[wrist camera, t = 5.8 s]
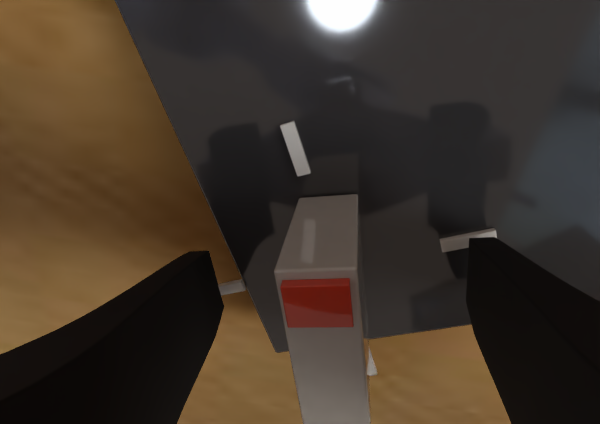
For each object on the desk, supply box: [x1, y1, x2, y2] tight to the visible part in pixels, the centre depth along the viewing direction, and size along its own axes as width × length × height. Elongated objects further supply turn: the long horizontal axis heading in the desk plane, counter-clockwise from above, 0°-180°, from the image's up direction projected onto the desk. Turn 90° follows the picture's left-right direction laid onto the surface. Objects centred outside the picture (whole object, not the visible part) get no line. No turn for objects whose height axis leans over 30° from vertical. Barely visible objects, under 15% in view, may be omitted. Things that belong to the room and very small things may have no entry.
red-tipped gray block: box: [274, 194, 371, 424], centre depth 10 cm, size 4×2×4 cm, turn 8°
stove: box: [115, 0, 600, 376], centre depth 9 cm, size 15×19×2 cm
